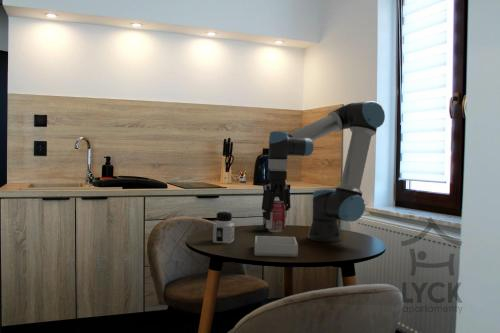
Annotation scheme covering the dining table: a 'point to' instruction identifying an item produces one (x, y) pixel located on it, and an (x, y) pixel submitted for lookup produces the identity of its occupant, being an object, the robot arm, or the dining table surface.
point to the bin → (276, 246)
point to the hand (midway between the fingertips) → (275, 227)
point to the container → (223, 228)
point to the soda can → (278, 216)
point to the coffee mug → (265, 221)
